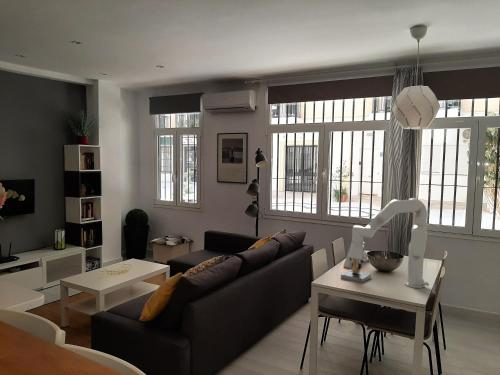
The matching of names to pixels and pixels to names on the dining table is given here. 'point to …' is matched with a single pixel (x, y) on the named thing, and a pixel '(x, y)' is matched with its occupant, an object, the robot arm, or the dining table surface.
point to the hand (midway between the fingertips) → (356, 267)
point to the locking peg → (355, 266)
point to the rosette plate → (356, 276)
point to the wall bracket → (348, 262)
